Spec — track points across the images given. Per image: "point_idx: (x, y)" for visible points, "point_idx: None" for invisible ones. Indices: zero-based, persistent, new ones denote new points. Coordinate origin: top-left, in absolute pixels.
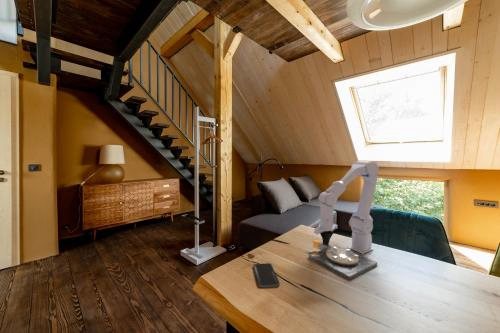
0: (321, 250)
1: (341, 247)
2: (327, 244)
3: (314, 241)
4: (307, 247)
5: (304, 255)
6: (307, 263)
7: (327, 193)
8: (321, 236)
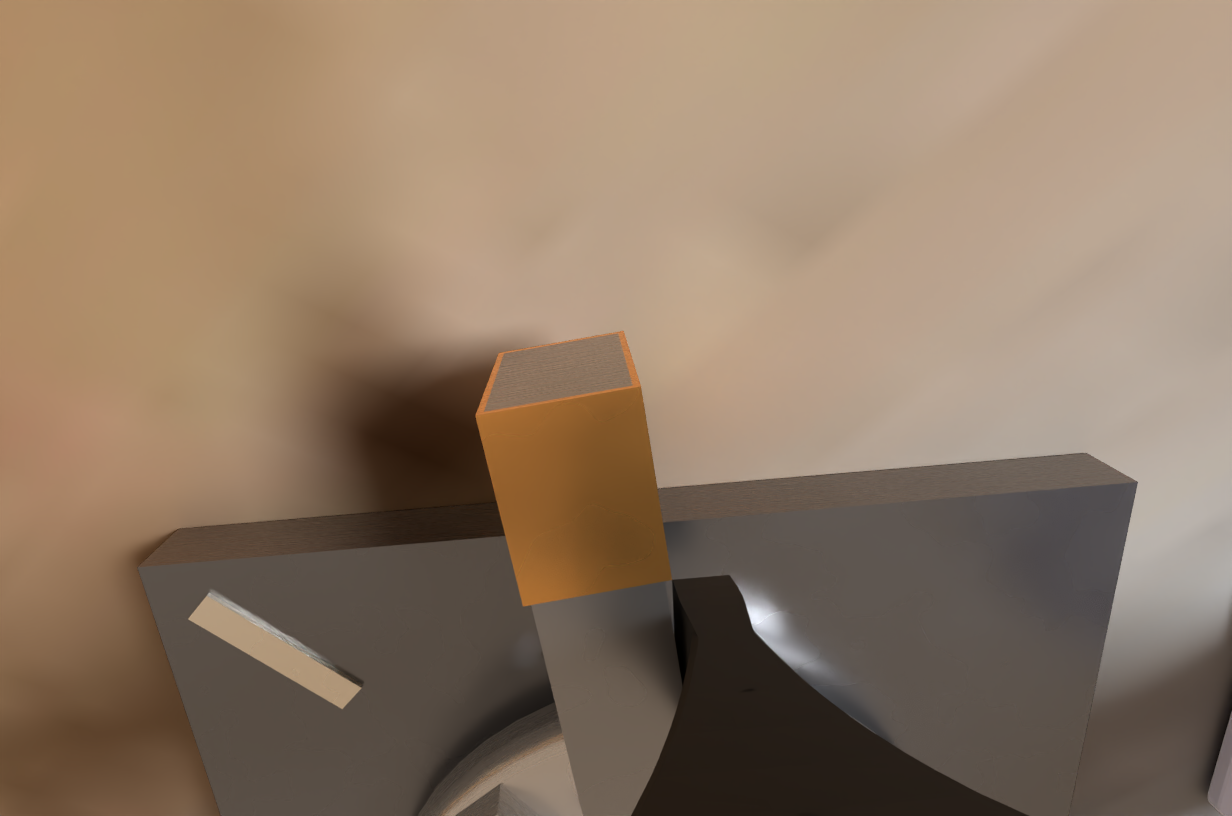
0: None
1: (1106, 611)
2: None
3: (487, 454)
4: (519, 100)
5: (161, 407)
6: (35, 663)
7: None
8: (667, 742)
